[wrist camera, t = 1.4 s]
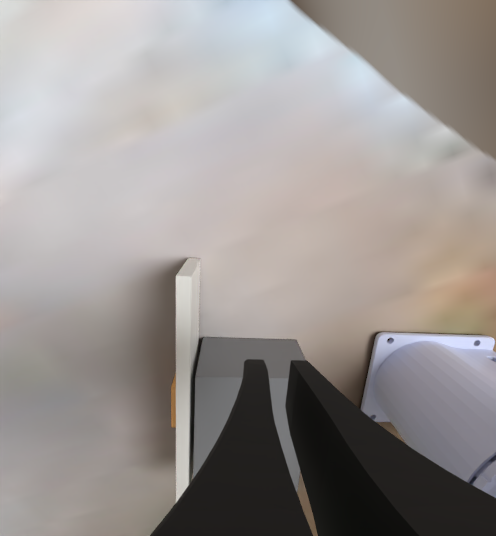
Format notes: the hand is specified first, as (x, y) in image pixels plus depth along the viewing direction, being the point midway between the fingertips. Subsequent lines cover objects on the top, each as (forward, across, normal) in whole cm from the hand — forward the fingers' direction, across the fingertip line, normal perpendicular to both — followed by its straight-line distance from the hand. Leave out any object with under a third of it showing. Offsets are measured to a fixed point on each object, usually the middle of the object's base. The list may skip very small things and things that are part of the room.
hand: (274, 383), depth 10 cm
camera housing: (+9, 0, +8) cm, 13 cm away
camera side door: (+9, +4, +6) cm, 12 cm away
